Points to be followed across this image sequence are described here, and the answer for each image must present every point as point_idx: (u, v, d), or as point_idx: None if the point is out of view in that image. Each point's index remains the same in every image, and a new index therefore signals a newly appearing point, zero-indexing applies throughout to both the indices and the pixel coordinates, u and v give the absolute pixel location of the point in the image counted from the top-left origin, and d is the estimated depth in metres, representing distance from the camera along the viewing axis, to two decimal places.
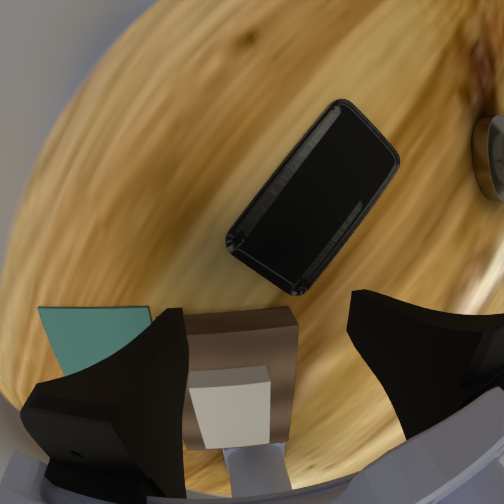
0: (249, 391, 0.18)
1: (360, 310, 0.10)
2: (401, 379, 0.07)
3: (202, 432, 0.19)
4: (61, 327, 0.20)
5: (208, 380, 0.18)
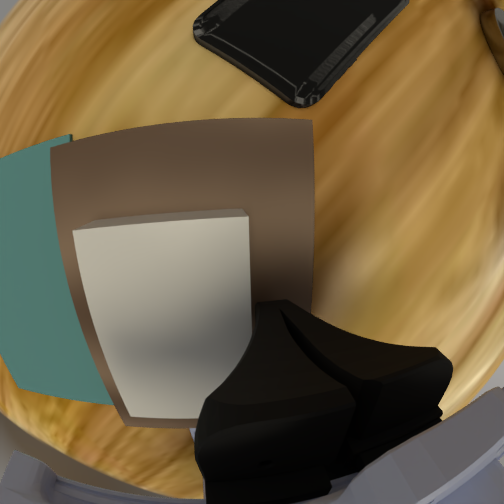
0: (199, 243, 0.08)
1: None
2: None
3: (113, 371, 0.09)
4: None
5: (116, 222, 0.09)
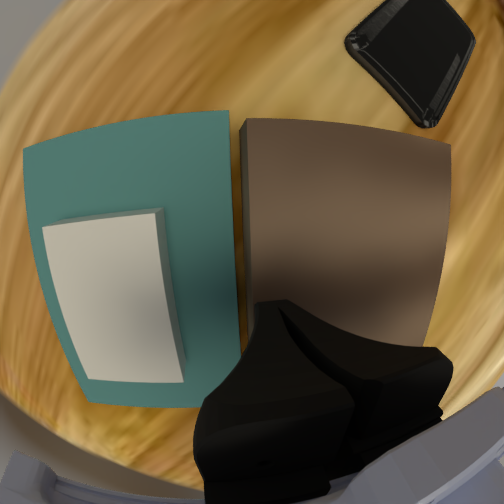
0: None
1: None
2: None
3: None
4: (53, 174, 0.11)
5: (130, 212, 0.11)
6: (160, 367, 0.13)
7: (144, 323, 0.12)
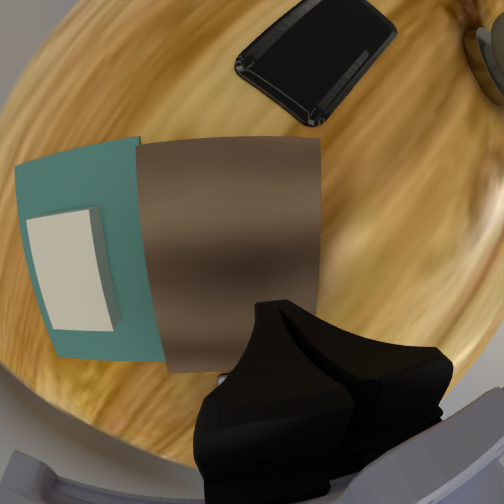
0: None
1: None
2: None
3: (111, 283, 0.19)
4: (34, 184, 0.15)
5: (79, 209, 0.16)
6: (97, 318, 0.17)
7: (85, 283, 0.16)
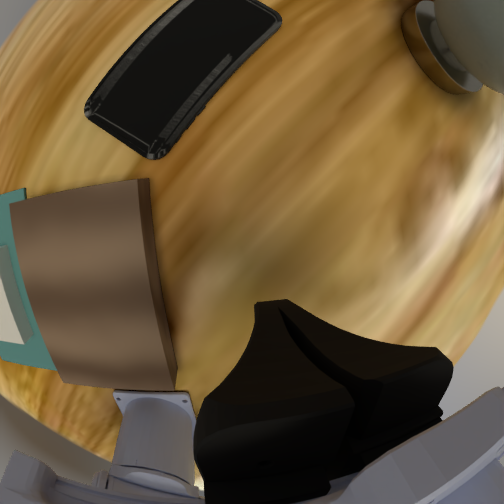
0: None
1: None
2: None
3: (22, 306, 0.18)
4: None
5: None
6: (13, 333, 0.16)
7: (1, 306, 0.16)
